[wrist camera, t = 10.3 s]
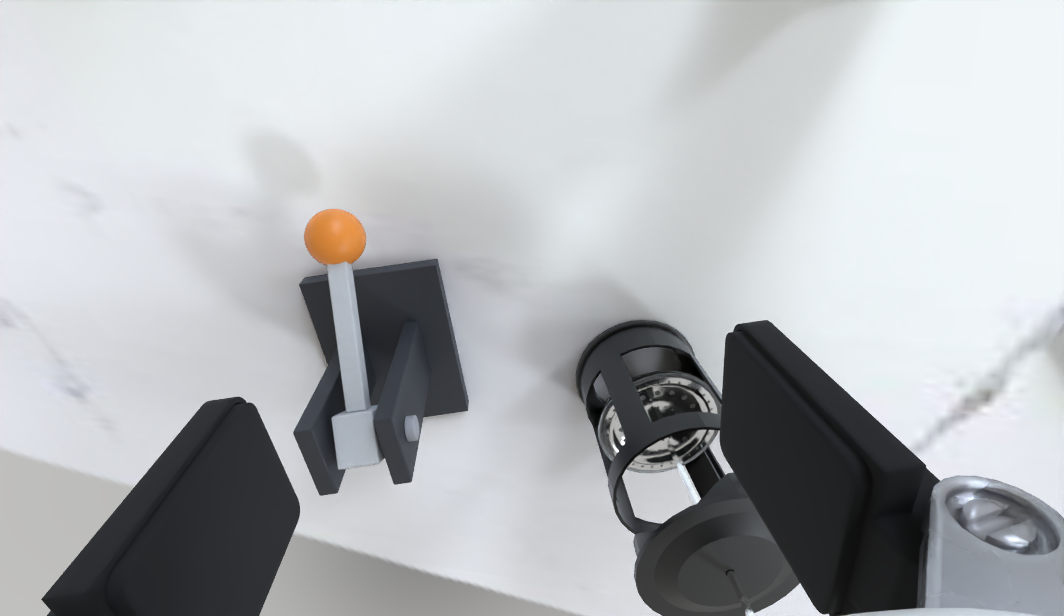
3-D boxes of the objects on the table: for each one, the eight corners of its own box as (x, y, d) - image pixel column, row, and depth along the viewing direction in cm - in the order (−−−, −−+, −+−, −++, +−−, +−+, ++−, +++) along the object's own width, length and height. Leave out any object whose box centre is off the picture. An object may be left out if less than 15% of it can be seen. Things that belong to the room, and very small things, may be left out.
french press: (545, 367, 38) (611, 720, 18) (642, 289, 36) (846, 590, 16) (635, 450, 43) (773, 808, 22) (727, 384, 41) (974, 717, 20)
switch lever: (315, 219, 30) (289, 207, 26) (369, 212, 30) (350, 198, 26) (346, 457, 29) (325, 474, 26) (401, 449, 29) (386, 464, 26)
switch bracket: (304, 277, 34) (221, 375, 23) (437, 258, 34) (415, 347, 23) (354, 418, 39) (304, 549, 29) (468, 401, 39) (461, 526, 29)
